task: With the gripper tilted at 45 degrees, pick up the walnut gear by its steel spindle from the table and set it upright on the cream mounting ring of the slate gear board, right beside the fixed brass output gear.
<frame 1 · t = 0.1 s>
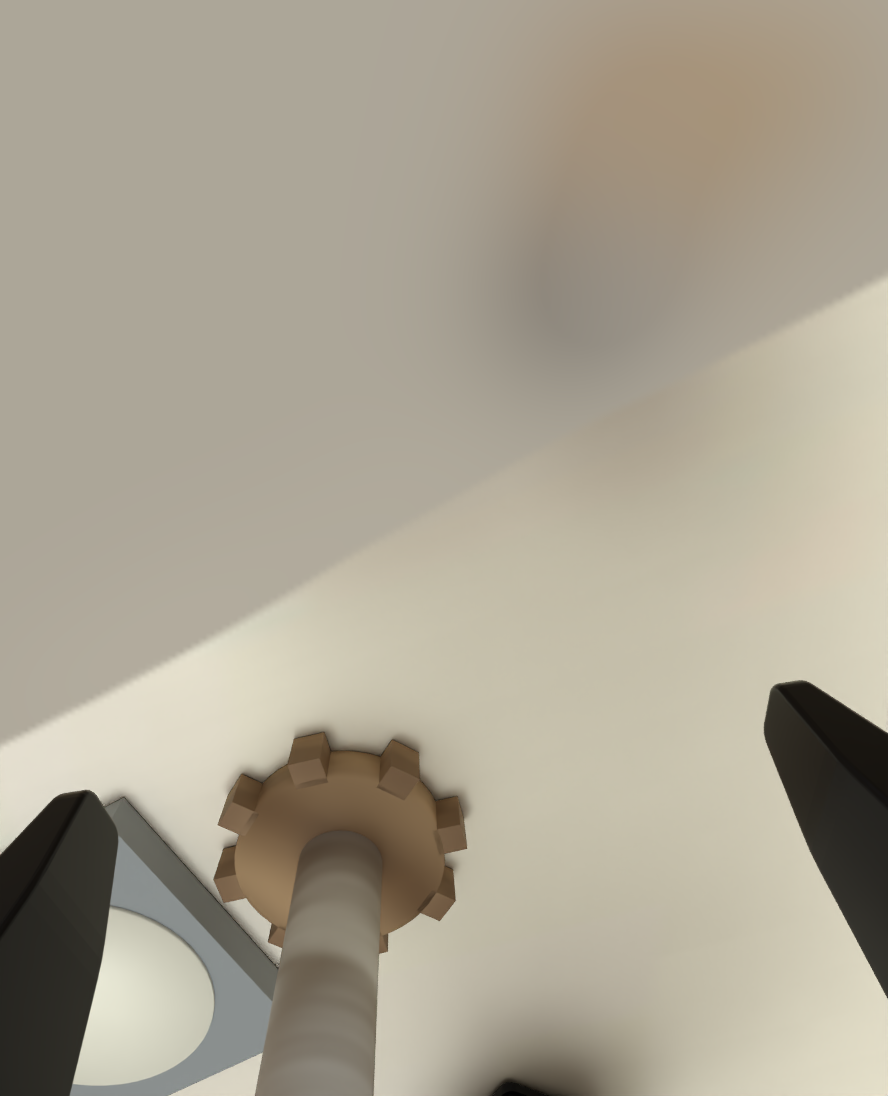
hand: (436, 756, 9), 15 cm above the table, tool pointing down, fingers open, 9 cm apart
walnut gear: (343, 834, 29), on the table
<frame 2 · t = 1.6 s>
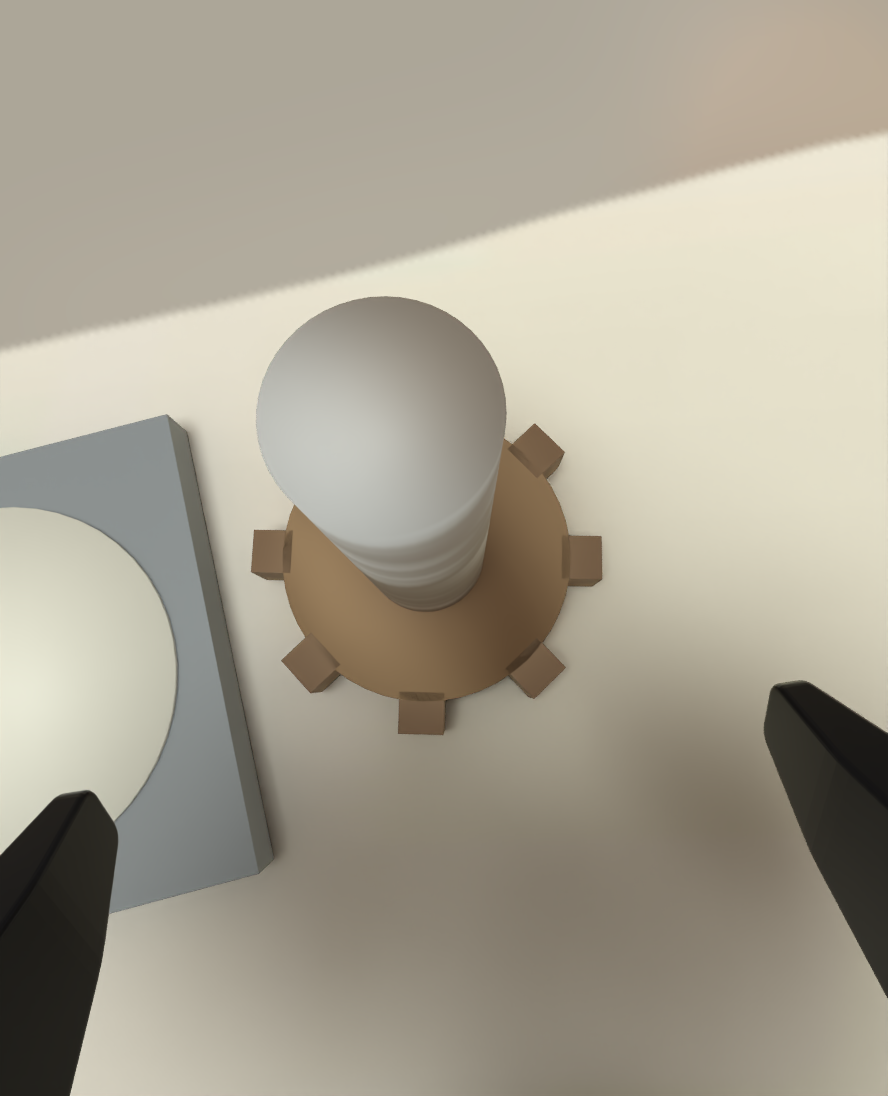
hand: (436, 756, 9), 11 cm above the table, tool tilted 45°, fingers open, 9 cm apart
walnut gear: (428, 563, 21), on the table
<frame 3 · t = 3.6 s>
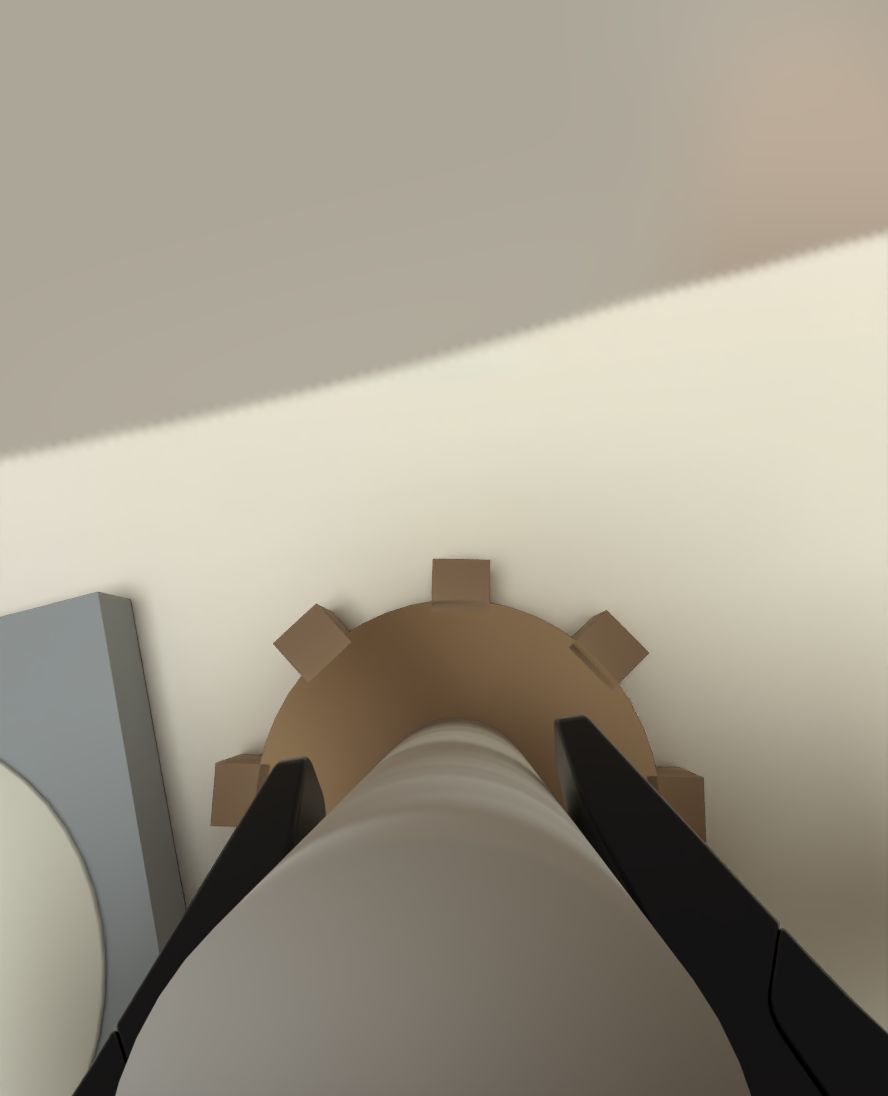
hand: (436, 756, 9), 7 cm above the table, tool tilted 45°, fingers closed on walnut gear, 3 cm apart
walnut gear: (457, 789, 16), on the table, touching gripper
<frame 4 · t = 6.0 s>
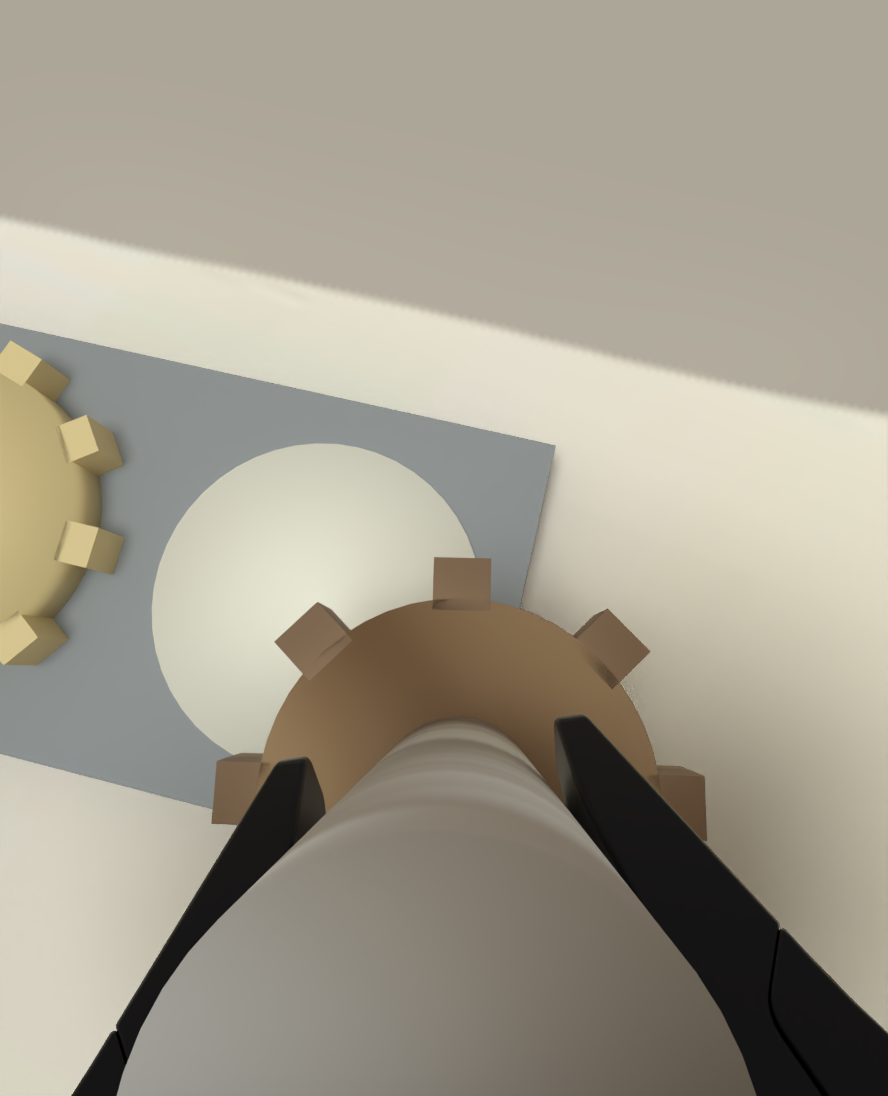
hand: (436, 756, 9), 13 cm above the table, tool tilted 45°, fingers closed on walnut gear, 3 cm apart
gear board: (151, 565, 24), on the table
walnut gear: (457, 787, 16), point 7 cm above the table, touching gripper
when the fingers open (9 cm above the table, at t = 8.3 s): walnut gear drops 1 cm, resting on gear board.
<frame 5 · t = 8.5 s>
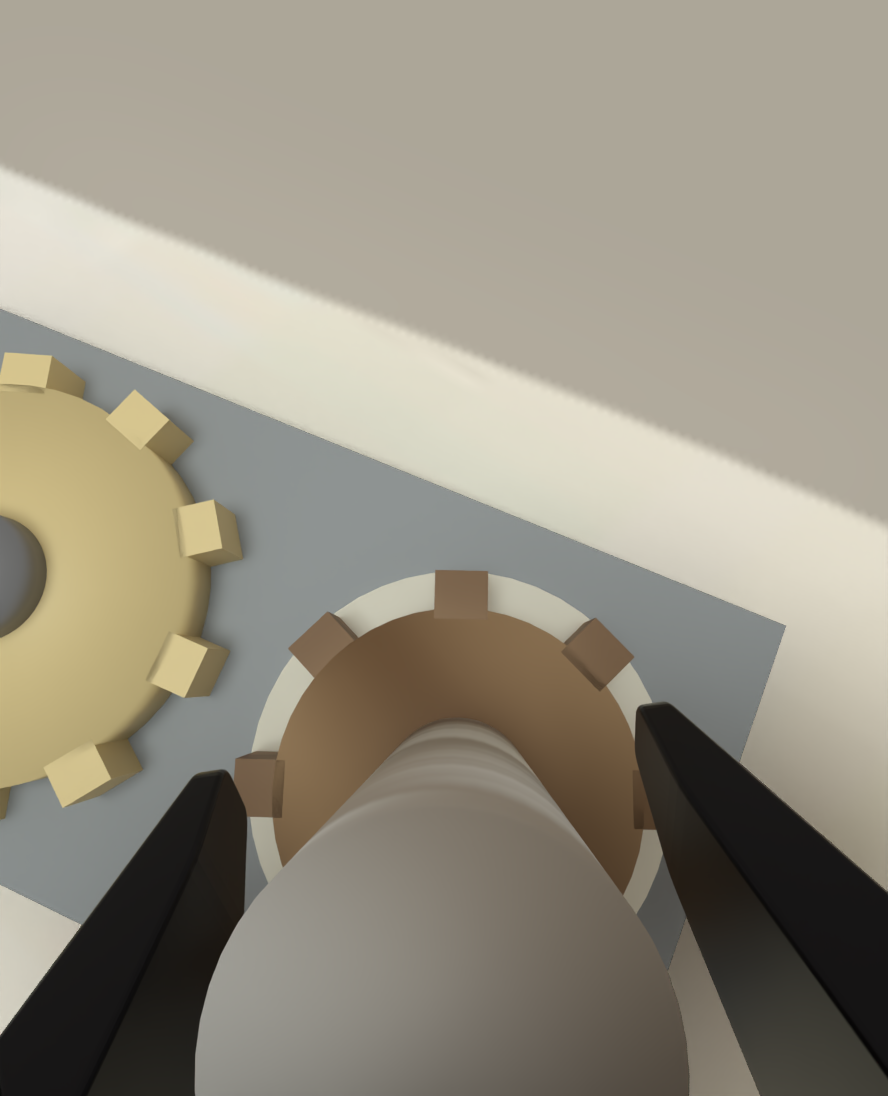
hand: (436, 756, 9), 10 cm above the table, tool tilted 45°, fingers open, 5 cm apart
gear board: (252, 679, 19), on the table
walnut gear: (457, 783, 17), point 2 cm above the table, touching gear board
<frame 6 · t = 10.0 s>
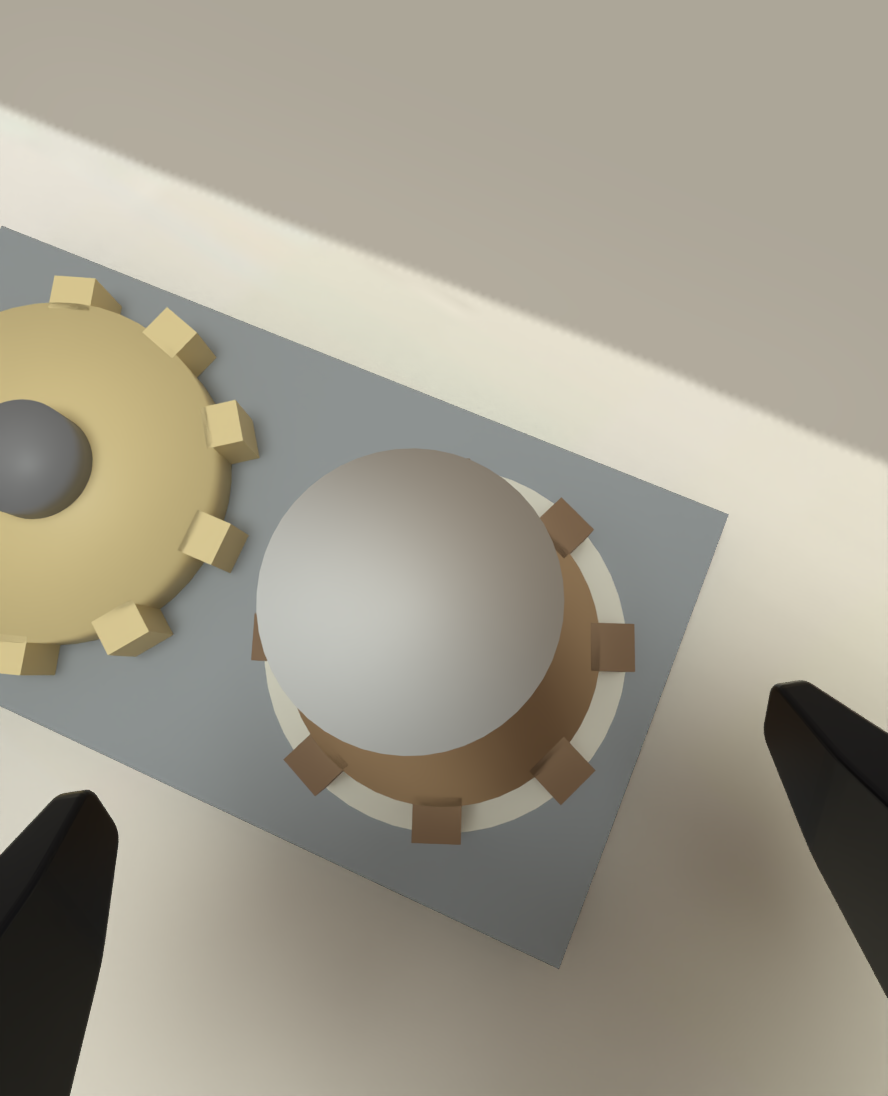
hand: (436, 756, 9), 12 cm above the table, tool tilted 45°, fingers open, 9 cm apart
gear board: (266, 567, 22), on the table
walnut gear: (443, 644, 20), point 2 cm above the table, touching gear board
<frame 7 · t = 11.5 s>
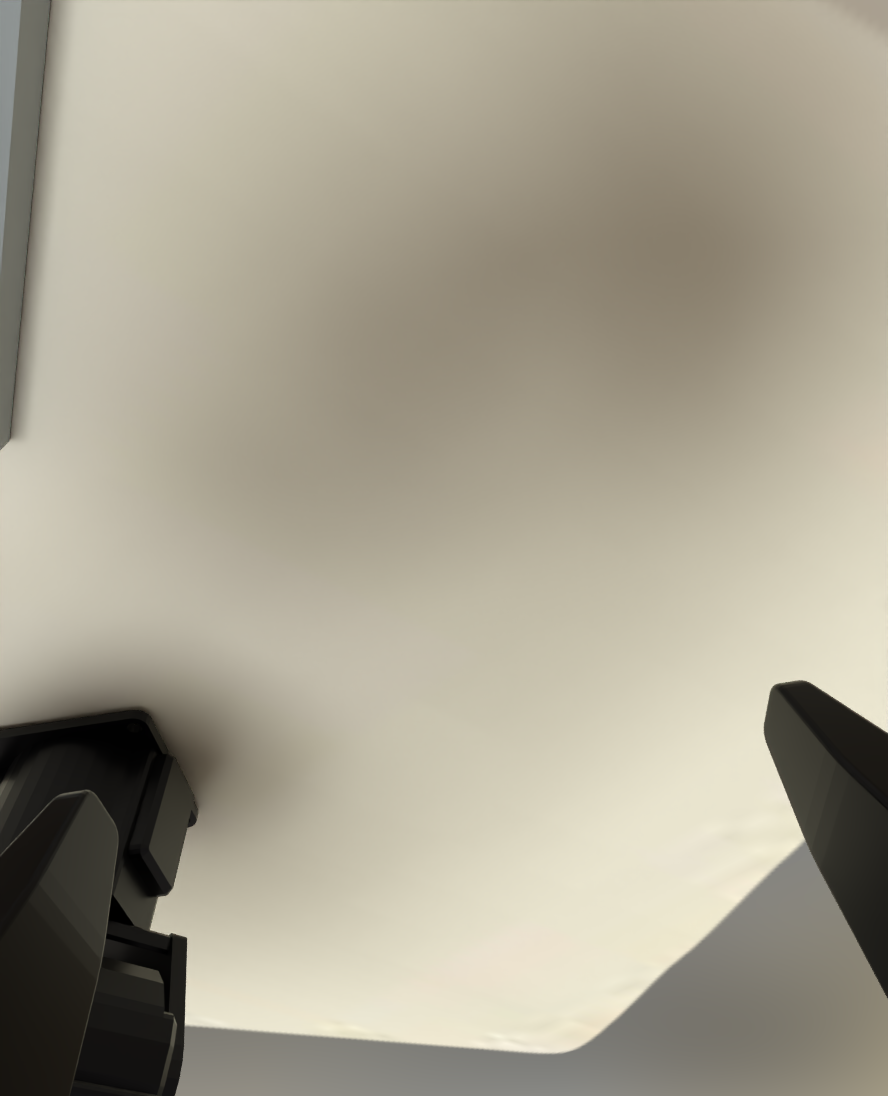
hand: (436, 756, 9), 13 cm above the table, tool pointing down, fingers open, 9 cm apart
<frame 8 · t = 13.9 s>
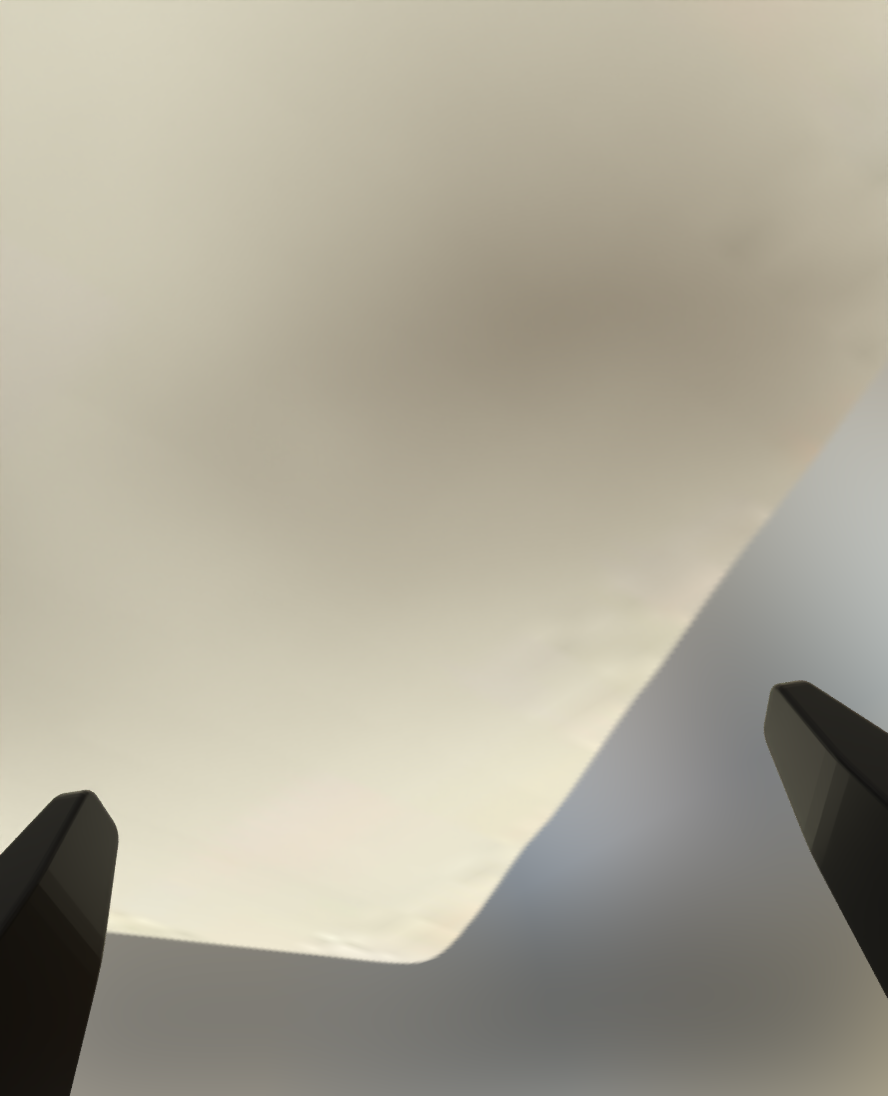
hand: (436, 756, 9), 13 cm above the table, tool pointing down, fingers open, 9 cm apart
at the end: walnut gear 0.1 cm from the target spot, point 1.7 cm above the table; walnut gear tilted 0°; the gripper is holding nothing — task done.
